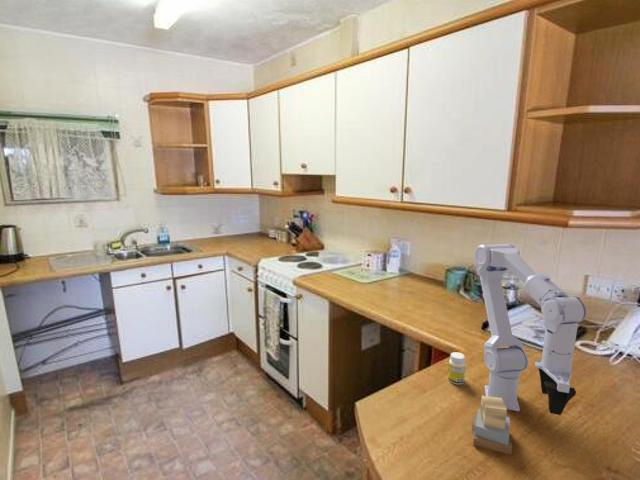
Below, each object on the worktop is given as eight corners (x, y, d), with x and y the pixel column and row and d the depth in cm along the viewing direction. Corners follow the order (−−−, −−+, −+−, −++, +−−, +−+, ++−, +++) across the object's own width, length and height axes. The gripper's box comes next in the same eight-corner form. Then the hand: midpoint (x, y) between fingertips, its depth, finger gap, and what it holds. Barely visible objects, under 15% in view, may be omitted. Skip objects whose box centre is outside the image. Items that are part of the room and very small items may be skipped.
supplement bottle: (450, 374, 114) (452, 349, 113) (466, 379, 111) (468, 354, 110) (445, 381, 111) (447, 355, 109) (461, 387, 108) (463, 361, 106)
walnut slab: (471, 425, 92) (472, 416, 92) (506, 433, 89) (507, 424, 89) (472, 447, 85) (473, 438, 84) (511, 456, 82) (512, 447, 82)
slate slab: (477, 417, 91) (478, 408, 91) (508, 426, 88) (509, 417, 88) (474, 435, 85) (475, 425, 85) (508, 445, 82) (509, 436, 82)
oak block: (480, 413, 89) (481, 395, 88) (500, 416, 88) (501, 398, 87) (483, 426, 85) (485, 407, 84) (504, 429, 84) (506, 410, 83)
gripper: (531, 332, 89) (525, 382, 92) (544, 360, 76) (537, 418, 78) (565, 336, 87) (558, 388, 89) (585, 367, 73) (576, 426, 76)
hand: (550, 403), depth 84 cm, fingers open, 7 cm apart
